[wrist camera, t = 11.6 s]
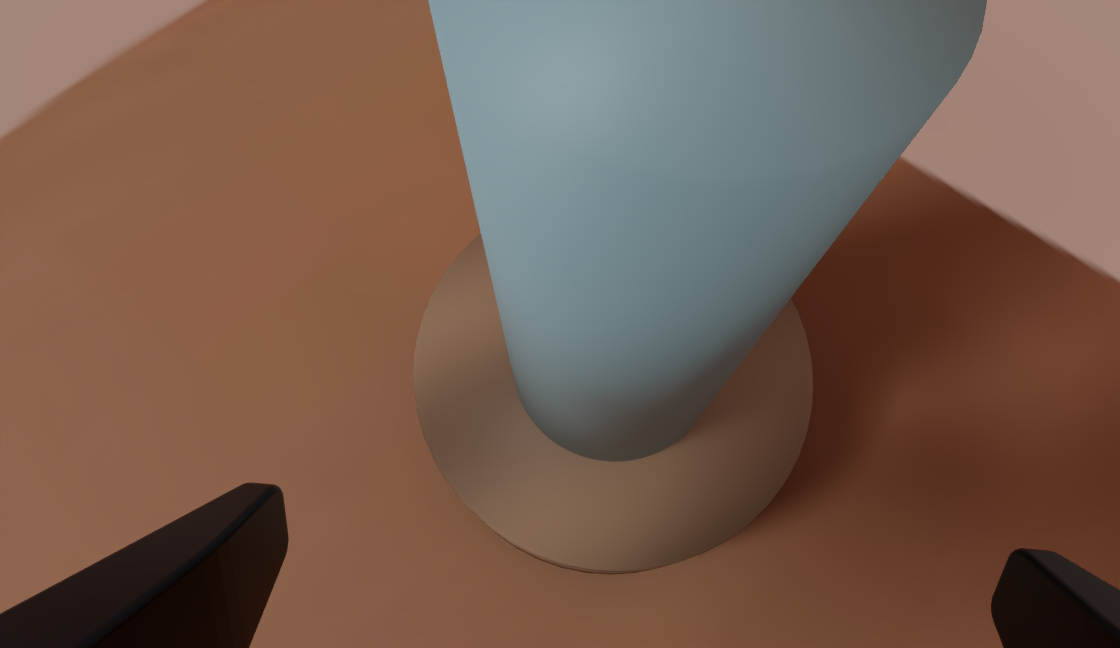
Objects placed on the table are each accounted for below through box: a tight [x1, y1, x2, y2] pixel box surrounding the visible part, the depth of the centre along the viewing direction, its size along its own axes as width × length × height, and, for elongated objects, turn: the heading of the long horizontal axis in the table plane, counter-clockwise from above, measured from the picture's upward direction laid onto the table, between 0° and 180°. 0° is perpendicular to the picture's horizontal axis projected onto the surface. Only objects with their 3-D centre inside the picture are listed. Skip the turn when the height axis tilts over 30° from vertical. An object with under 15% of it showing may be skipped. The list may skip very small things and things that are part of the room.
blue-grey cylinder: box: [428, 0, 987, 462], centre depth 13 cm, size 6×6×13 cm
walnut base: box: [414, 234, 813, 574], centre depth 20 cm, size 11×11×3 cm
